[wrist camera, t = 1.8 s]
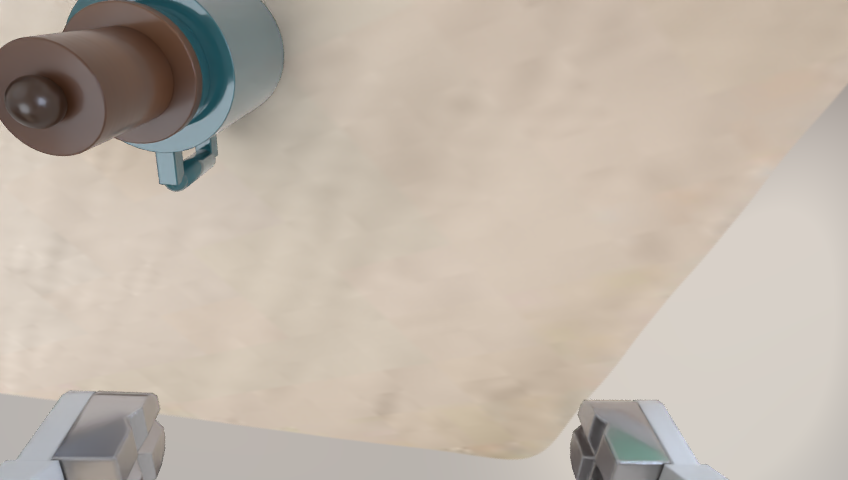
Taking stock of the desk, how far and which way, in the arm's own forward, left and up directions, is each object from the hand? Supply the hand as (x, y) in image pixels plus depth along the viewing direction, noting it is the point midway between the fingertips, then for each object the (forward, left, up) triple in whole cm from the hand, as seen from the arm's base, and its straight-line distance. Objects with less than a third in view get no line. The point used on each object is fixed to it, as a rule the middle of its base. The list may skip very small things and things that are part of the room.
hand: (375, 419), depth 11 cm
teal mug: (-1, -15, -32) cm, 35 cm away
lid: (-3, -15, -20) cm, 25 cm away
